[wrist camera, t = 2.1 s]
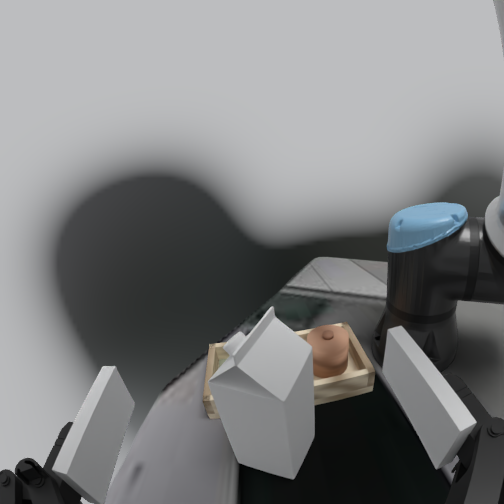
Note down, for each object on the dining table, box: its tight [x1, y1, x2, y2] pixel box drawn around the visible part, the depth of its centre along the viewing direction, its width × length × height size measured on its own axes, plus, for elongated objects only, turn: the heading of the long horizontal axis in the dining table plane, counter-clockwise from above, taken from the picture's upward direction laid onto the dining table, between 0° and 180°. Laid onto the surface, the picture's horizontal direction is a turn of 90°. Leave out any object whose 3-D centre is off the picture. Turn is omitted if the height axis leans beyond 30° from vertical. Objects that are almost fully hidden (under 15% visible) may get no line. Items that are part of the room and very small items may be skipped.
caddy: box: [203, 322, 375, 419], centre depth 41 cm, size 23×13×7 cm, turn 93°
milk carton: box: [208, 307, 315, 479], centre depth 26 cm, size 7×7×19 cm
